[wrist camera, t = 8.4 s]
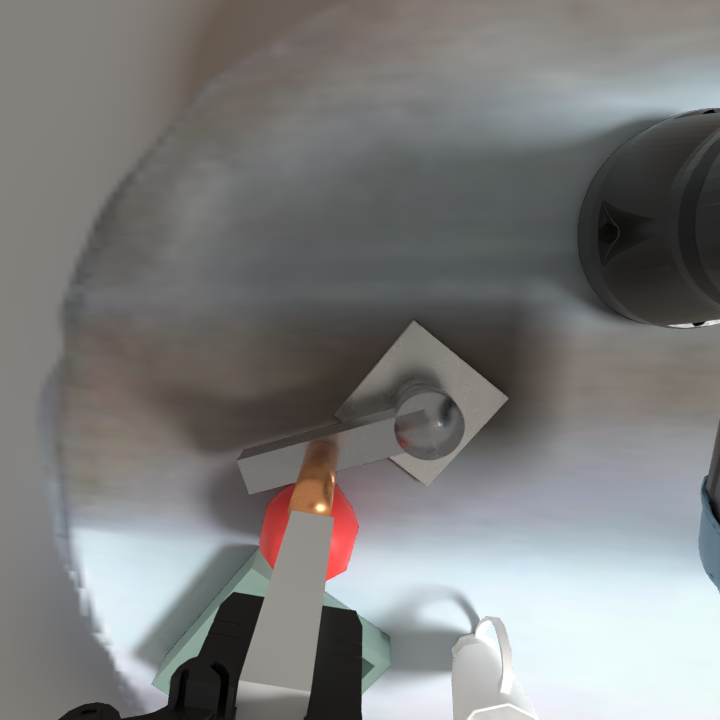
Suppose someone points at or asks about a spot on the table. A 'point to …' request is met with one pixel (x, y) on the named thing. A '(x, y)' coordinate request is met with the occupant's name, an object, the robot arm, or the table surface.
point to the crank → (354, 448)
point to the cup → (487, 678)
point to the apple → (341, 533)
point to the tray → (256, 582)
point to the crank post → (423, 368)
